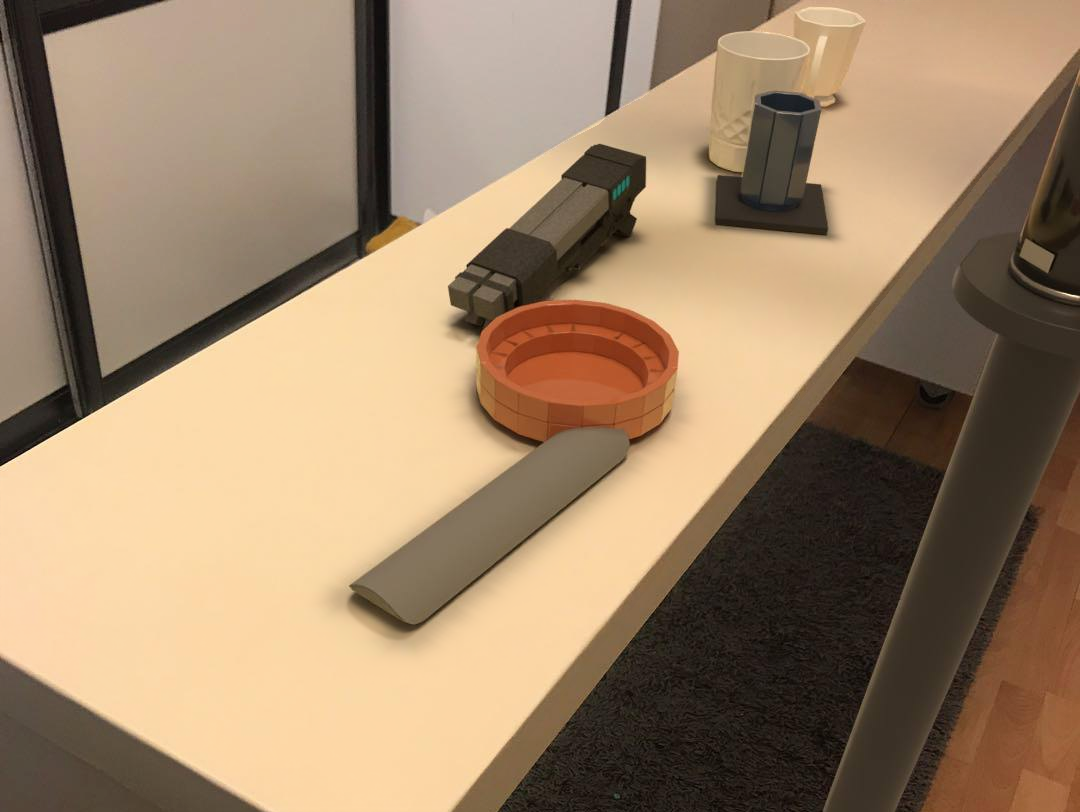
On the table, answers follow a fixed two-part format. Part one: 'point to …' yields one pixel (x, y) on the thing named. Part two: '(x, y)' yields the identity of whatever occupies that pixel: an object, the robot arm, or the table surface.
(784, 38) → the white cup
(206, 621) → the table surface
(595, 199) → the gun
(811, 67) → the cup
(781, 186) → the octagonal grey canister
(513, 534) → the gray half cylinder
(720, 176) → the mat
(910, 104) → the table surface
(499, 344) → the big bowl
